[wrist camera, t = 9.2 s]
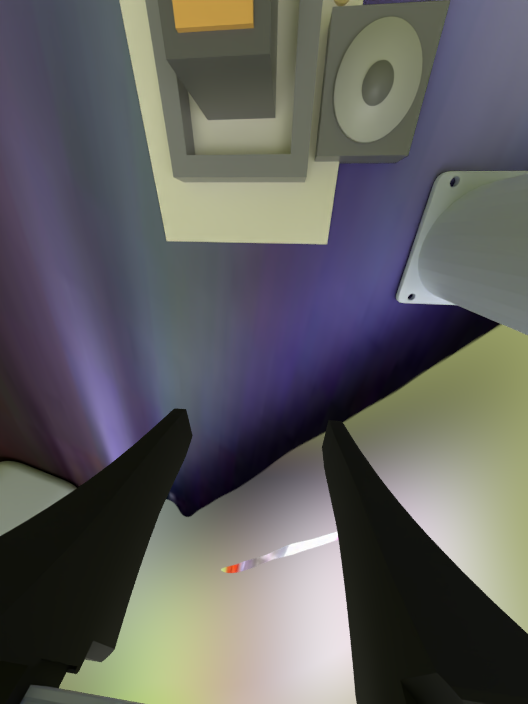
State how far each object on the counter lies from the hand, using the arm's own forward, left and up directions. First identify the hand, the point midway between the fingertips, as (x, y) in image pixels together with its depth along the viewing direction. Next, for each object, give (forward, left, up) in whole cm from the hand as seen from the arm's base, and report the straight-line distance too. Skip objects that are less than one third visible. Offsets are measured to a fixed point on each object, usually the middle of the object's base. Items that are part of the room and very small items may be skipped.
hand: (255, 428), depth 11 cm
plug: (+2, -16, -10) cm, 19 cm away
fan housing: (-5, -15, -10) cm, 19 cm away
